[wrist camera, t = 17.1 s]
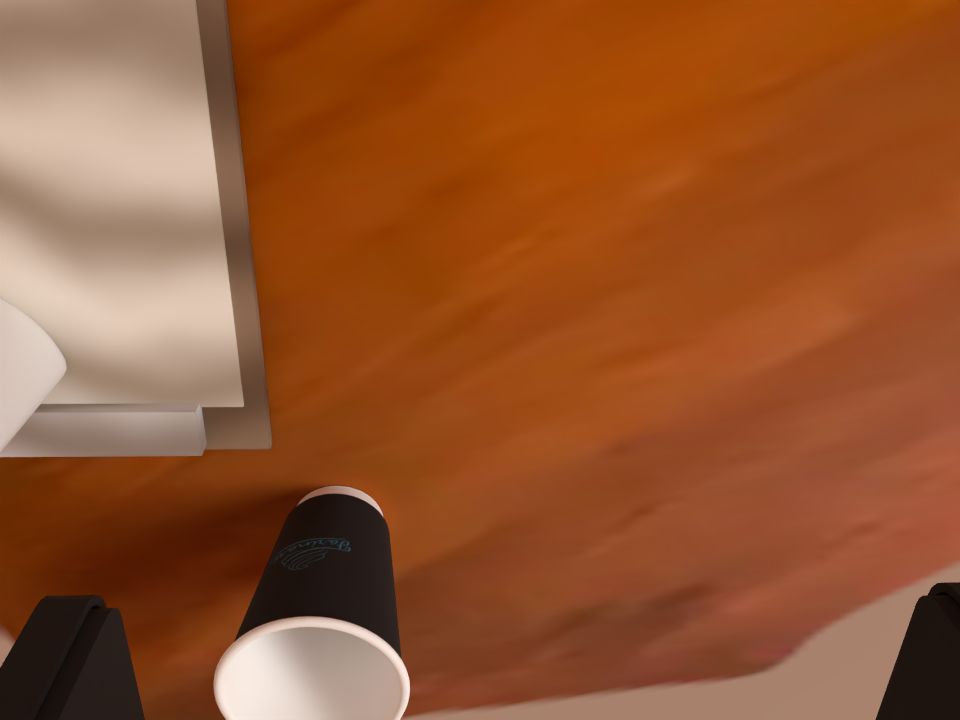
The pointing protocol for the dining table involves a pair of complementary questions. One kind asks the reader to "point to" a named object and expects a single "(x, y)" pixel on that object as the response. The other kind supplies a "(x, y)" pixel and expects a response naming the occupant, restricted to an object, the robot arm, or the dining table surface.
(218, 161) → the clipboard
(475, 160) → the dining table surface
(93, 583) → the dining table surface
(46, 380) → the eye dropper bottle
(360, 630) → the dixie cup
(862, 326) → the dining table surface
